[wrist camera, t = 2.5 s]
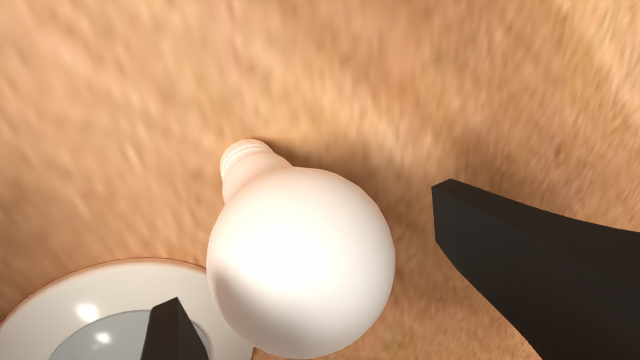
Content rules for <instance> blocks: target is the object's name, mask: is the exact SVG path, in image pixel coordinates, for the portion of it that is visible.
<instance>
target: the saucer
mask: <svg viewBox="0 0 640 360" xmlns="http://www.w3.org/2000/svg"><path fill="white" fill-rule="evenodd" d="M175 297H178V299H179V301H180V302H181V304H182V306H183V308H184V310H185V311H186V313H187V315H188V317H189V319H190V320H191V322H192V324H193V326H194V328H195V329H196V331H197V333H198V335H199V337H200V339H201V340H202V342H203V344H204V346H205V348H206V351H207V354H208V358H209V360H251V357H252V353H253V348H254V346H252V345H250V344H248V343H246V342H245V341H244V340H243V339H242V338H241V337H240V336H238V335H237V334H236V333H235V332H234V331H233V330H232V329H231V328H230V327H229V326H228V324H227V323H226V321H225V320H224V318H223V317H222V315H221V314H220V312H219V310H218V309H217V307H216V306H215V304H214V302H213V298H212V295H211V292H210V288H209V285H208V281H207V272H206V269H205V268H202V267H200V266H197V265H194V264H190V263H187V262H183V261H177V260H172V259H163V258H130V259H122V260H115V261H109V262H105V263H101V264H96V265H92V266H89V267H86V268H83V269H80V270H77V271H74V272H71V273H69V274H67V275H65V276H62V277H60V278H58V279H56V280H54V281H52V282H50V283H48V284H47V285H45V286H43V287H42V288H40V289H38V290H36V291H35V292H34V293H32V294H31V295H30V296H28V297H27V298H26V299H24V300H23V301H22V302H20V303H19V304H18V305H17V306H16V307H15V308H14V309H13V310H12V311H11V312H10V313H9V314H8V315H7V316H6V317H5V318H4V320H3V321H2V322H1V323H0V360H140V358H141V354H142V350H143V346H144V341H145V337H146V332H147V326H148V321H149V315H150V311H151V309H152V308H153V307H154V306H156V305H159V304H161V303H163V302H166V301H168V300H170V299H173V298H175Z"/></svg>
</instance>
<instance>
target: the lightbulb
mask: <svg viewBox="0 0 640 360" xmlns="http://www.w3.org/2000/svg"><path fill="white" fill-rule="evenodd" d="M220 172H221V177H222V181H223V198H224V202H225V206H224V208H223V209H222V211H221V213H220V215H219V217H218V219H217V221H216V223H215V226H214V228H213V230H212V232H211V234H210V239H209V243H208V248H207V259H206V272H207V281H208V285H209V288H210V292H211V295H212V298H213V302H214V304H215V306H216V307H217V309H218V310H219V312H220V314H221V315H222V317H223V318H224V320H225V321H226V323H227V324H228V326H229V327H230V328H231V329H232V330H233V331H234V332H235V333H236V334H237V335H238V336H240V337H241V338H242V339H243V340H244V341H245V342H246V343H248V344H250V345H252V346H254V347H256V348H258V349H260V350H262V351H264V352H266V353H268V354H271V355H275V356H280V357H284V358H290V359H312V358H318V357H321V356H325V355H328V354H331V353H334V352H336V351H339V350H341V349H343V348H345V347H347V346H348V345H350V344H352V343H353V342H354V341H356V340H357V339H359V338H360V337H361V336H362V335H363V334H364V333H365V332H366V331H367V330H368V329H369V328H370V327H371V326H372V325H373V324H374V323H375V321H376V320H377V319H378V318H379V316H380V315H381V313H382V311H383V310H384V308H385V306H386V303H387V301H388V299H389V296H390V293H391V289H392V286H393V281H394V276H395V248H394V244H393V240H392V237H391V233H390V229H389V226H388V224H387V222H386V220H385V218H384V216H383V214H382V213H381V211H380V209H379V207H378V206H377V204H376V203H375V202H374V201H373V200H372V199H371V198H370V197H369V196H368V195H367V194H366V193H365V192H364V191H363V190H362V189H361V188H360V187H359V186H357V185H356V184H354V183H352V182H351V181H349V180H347V179H345V178H343V177H342V176H340V175H338V174H336V173H333V172H329V171H326V170H323V169H314V168H303V167H293V166H292V165H291V164H290V163H289V162H288V161H287V160H286V159H284V158H283V157H281V156H279V155H276V154H275V153H274V152H273V151H272V149H271V148H270V147H269V146H267V145H266V144H265V143H263V142H262V141H259V140H256V139H244V140H240V141H238V142H235V143H234V144H232V145H231V146H230V147H229V148H228V149H227V150H226V151H225V152H224V154H223V155H222V158H221V161H220Z"/></svg>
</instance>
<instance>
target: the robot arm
mask: <svg viewBox="0 0 640 360" xmlns="http://www.w3.org/2000/svg"><path fill="white" fill-rule="evenodd" d="M432 200H433V212H434V225H435V238H436V242H437V244H438V245H439V246H440V248H441V249H442V251H443V252H444V253H445V255H446V256H447V257H448V259H449V260H450V261H451V262H452V264H453V265H454V266H455V267H456V269H457V270H458V271H459V272H460V273H461V274H462V275H463V276H464V277H465V278H466V279H467V280H468V281H469V282H470V283H471V284H472V285H473V286H474V287H475V288H476V289H477V290H478V291H479V292H480V293H481V294H482V295H483V296H484V297H485V298H486V299H487V300H488V301H489V302H490V303H491V304H492V305H493V306H494V307H495V308H496V309H497V310H498V311H499V312H500V313H501V314H502V315H503V316H504V317H505V318H506V319H507V320H508V321H509V322H510V323H511V324H512V325H513V326H514V327H515V328H516V329H517V330H518V331H519V332H520V334H521V335H522V336H523V337H524V338H525V339H526V340H527V341H528V343H529V344H530V345H531V346H532V347H533V349H534V350H535V351H536V352H537V353H538V355H539V356H540V357H541V358H542V360H640V232H634V231H628V230H622V229H617V228H612V227H607V226H603V225H598V224H594V223H589V222H585V221H581V220H577V219H573V218H569V217H565V216H562V215H558V214H555V213H551V212H548V211H544V210H541V209H538V208H535V207H532V206H528V205H525V204H522V203H519V202H516V201H513V200H511V199H508V198H505V197H502V196H499V195H496V194H493V193H491V192H488V191H485V190H482V189H480V188H477V187H474V186H471V185H468V184H465V183H463V182H460V181H456V180H453V179H448V180H446V181H444V182H441V183H439V184H437V185H434V186H432ZM140 360H209V358H208V354H207V351H206V348H205V346H204V344H203V342H202V340H201V339H200V337H199V335H198V333H197V331H196V329H195V328H194V326H193V324H192V322H191V320H190V319H189V317H188V315H187V313H186V311H185V310H184V308H183V306H182V304H181V302H180V301H179V299H178V297H175V298H173V299H170V300H168V301H166V302H163V303H161V304H159V305H156V306H154V307H153V308H152V309H151V311H150V315H149V321H148V326H147V332H146V337H145V341H144V346H143V350H142V354H141V358H140Z"/></svg>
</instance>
